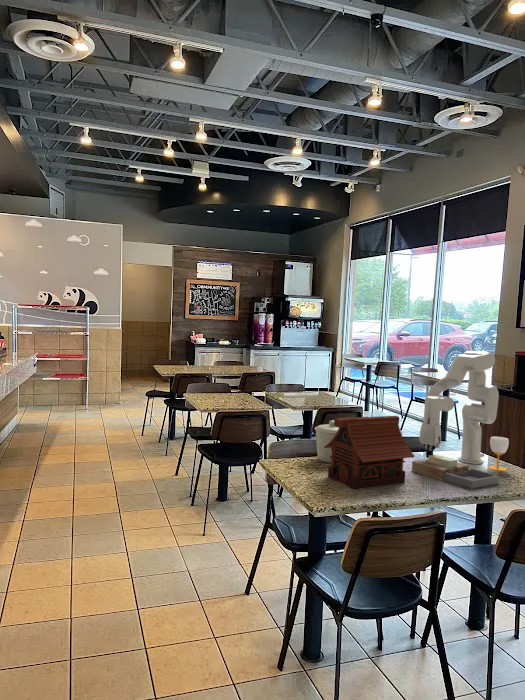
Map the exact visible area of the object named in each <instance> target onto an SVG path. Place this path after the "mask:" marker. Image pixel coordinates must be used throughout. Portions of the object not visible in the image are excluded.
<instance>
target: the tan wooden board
mask: <svg viewBox="0 0 525 700" xmlns="http://www.w3.org/2000/svg"><path fill="white" fill-rule="evenodd" d="M428 459H429V458H424V459H416V460H411V461H412V462H411V472H413V473H414V472H415V473H418V474H420V473H421V474H420V475H423V474H424V475H423V476H426V475H427V477H429V476H430V478H432V477H434V478H433V479H435V478H436V480H438V479H439V480H438V481H442V482H444V481H443V476H444V474H445V473H449V474H450V473H456V472H461V471H467V470H470V465H469V464H467V463H466V464H465V463H463V462H458V461H457V466H455V467H446V466H442V465H439V464H435V463H432V462H429V461H428Z"/></svg>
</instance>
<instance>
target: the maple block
mask: <svg viewBox="0 0 525 700" xmlns="http://www.w3.org/2000/svg"><path fill="white" fill-rule="evenodd" d="M444 457H446V456H444V455H440V454H433V455H429V458H427V459H428V461H429V462H432V463H435V464H439V458H444Z"/></svg>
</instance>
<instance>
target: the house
mask: <svg viewBox="0 0 525 700" xmlns="http://www.w3.org/2000/svg"><path fill="white" fill-rule="evenodd" d="M333 420H334V426H335V427H338V428H339V429H338V431H337V432H336V433H337V434H336V435H335V437H334V438H333V439H332V440H331V441H330V443H328V444H327V445H326V446H324V448H331V451H332V456H330V458H332V461H331V463H330V465H329V466H328V468H327V469H328V470H327V472H328V473H327V478H328V479H330V480H332V479H333V480H332V481H335V482H337V481H338V482H337V483H339V482H340V484H341V485H344V486H346V487H348V488H350V489H352V490H362V489H361V488H363V489H369V487H370V488H375V487H376V488H377V487H383V485H385V486H391V485H392V486H393V485H398V484H405V482H406V471H405V470H403V469H404V463H406V460H404V459H407V458H408V459H410V458H414V457H415V455H414V453H413V452H412V451H411V449H410V448H409V447H408V445H407V442H406V441H405V439H404V437H403V435H402V432H401V429H400V425H399V424H400V417H399V416H398V415H386V416H384V415H383V416H382V415H381V416H358V417H340V418H339V417H338V418H334V419H333Z"/></svg>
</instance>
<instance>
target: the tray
mask: <svg viewBox="0 0 525 700" xmlns="http://www.w3.org/2000/svg"><path fill="white" fill-rule="evenodd" d="M499 477H500V476H499V475H497V474H494V473H489V472H487V471H483V470H481V469H475V468H470V469H469V470H467V471H461V472H456V473H450V474H449V473H445V474H444V476H443V481H442V482H446V483H448V484H450V485H455V486H458V487H461V488H464V489H467V490H470V491H474V490H478V489H479V490H480V489H483V488H488V487H489V488H490V487H493V486H497V485H498V486H499V479H500V478H499Z"/></svg>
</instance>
